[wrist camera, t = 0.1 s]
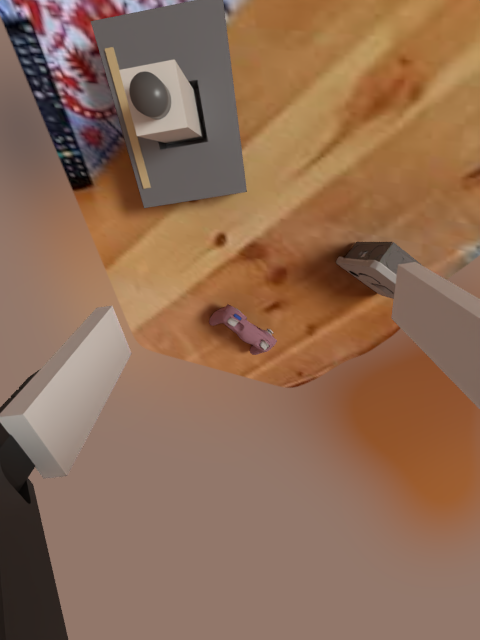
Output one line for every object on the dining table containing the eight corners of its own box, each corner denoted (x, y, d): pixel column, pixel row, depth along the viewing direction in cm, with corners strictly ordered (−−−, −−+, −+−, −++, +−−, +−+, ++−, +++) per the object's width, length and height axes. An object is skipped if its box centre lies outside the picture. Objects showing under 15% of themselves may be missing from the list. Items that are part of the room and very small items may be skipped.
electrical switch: (332, 260, 41) (361, 279, 33) (357, 228, 40) (394, 239, 31) (378, 294, 44) (417, 319, 36) (403, 265, 42) (450, 284, 34)
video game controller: (268, 331, 49) (287, 340, 42) (252, 354, 48) (269, 366, 42) (221, 296, 46) (234, 299, 39) (204, 320, 45) (214, 327, 39)
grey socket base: (107, 37, 30) (89, 20, 26) (224, 14, 29) (222, -7, 25) (152, 203, 37) (143, 208, 34) (245, 188, 37) (246, 191, 33)
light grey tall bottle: (161, 101, 32) (108, 61, 19) (196, 95, 32) (168, 49, 19) (170, 143, 34) (128, 134, 21) (204, 138, 34) (183, 124, 21)
